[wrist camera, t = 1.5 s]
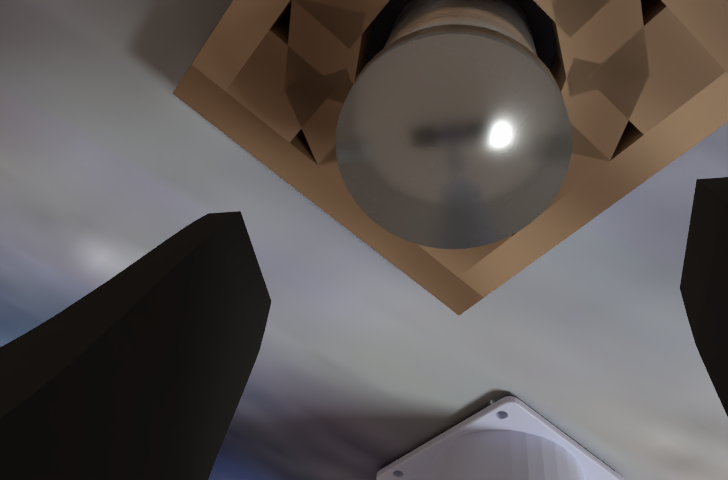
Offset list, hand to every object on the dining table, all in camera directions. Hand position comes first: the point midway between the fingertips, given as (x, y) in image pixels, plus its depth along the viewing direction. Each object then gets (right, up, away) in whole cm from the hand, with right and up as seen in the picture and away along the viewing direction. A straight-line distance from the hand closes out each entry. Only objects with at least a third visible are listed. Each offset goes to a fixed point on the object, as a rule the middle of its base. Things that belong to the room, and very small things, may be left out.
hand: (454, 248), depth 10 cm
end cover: (+1, +6, +9) cm, 11 cm away
